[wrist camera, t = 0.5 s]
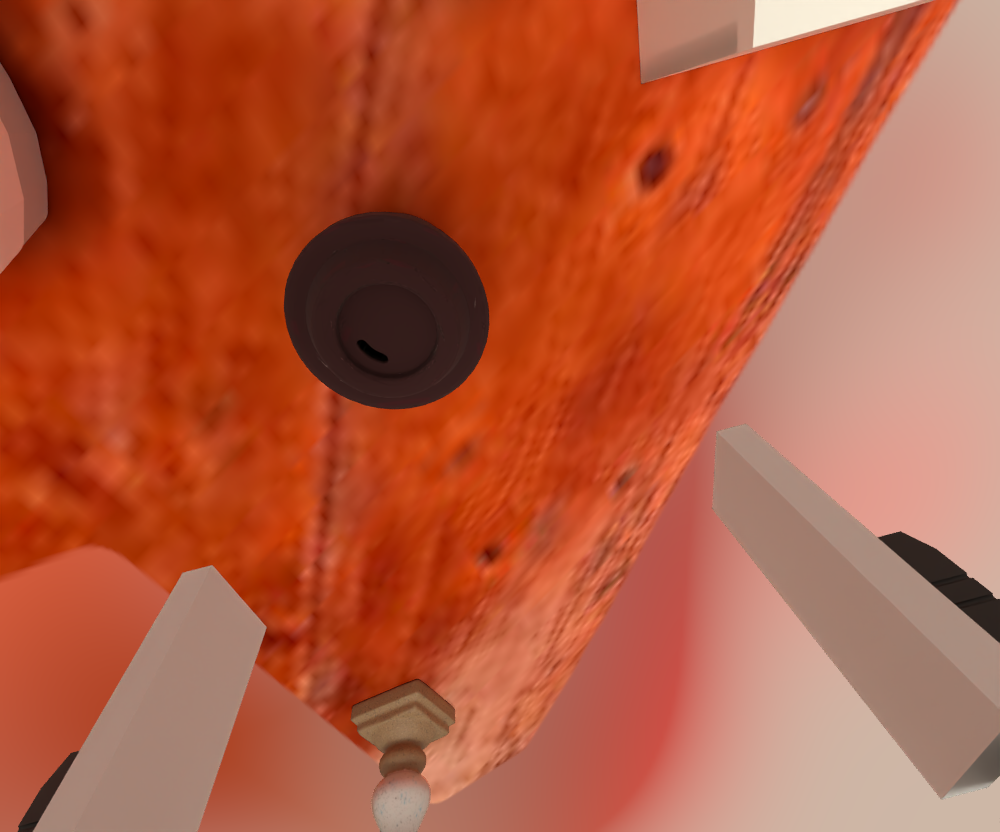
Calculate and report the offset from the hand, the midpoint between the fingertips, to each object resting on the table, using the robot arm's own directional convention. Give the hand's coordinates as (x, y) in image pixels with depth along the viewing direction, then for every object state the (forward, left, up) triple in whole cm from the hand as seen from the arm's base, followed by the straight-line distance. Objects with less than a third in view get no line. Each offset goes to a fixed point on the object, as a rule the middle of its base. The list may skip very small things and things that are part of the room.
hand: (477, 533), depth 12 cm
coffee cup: (-2, -3, -27) cm, 27 cm away
